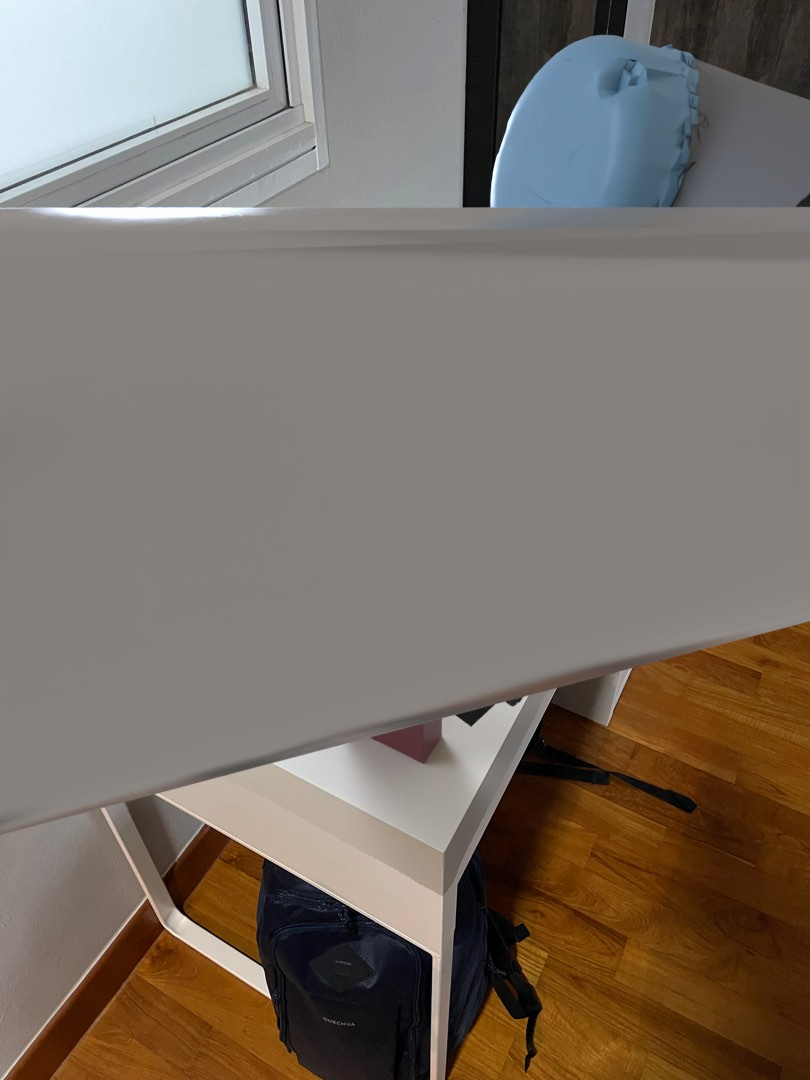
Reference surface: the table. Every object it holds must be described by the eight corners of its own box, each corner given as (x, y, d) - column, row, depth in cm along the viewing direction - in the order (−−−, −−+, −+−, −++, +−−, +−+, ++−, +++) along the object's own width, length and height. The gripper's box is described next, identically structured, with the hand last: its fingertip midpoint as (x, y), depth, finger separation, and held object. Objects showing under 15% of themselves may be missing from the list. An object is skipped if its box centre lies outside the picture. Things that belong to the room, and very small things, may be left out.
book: (424, 764, 68) (420, 662, 59) (338, 722, 72) (323, 619, 63) (442, 735, 70) (441, 632, 61) (358, 696, 74) (346, 593, 65)
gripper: (723, 636, 30) (470, 822, 45) (796, 349, 47) (594, 555, 63) (555, 518, 30) (360, 743, 46) (689, 275, 47) (514, 498, 63)
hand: (495, 635), depth 54 cm, fingers open, 13 cm apart
